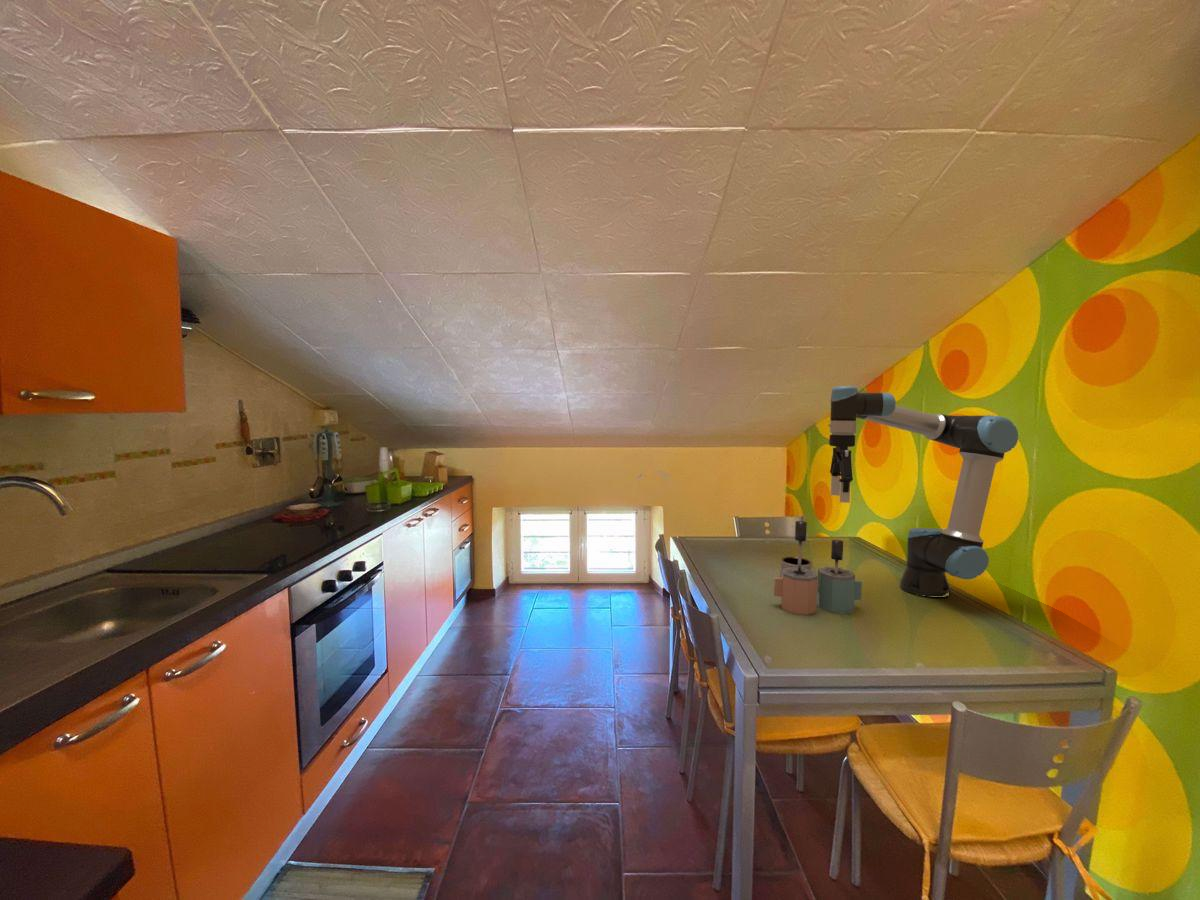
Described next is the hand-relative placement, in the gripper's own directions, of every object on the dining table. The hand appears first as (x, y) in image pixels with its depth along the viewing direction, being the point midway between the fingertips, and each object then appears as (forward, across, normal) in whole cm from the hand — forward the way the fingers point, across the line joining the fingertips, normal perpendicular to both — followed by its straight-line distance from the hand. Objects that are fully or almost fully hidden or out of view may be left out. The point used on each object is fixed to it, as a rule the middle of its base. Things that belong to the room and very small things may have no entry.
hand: (839, 498), depth 156 cm
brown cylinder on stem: (+27, +4, -12) cm, 30 cm away
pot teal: (+37, 0, +1) cm, 37 cm away
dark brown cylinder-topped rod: (+34, 0, 0) cm, 34 cm away
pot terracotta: (+37, +4, -13) cm, 39 cm away
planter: (+37, -18, -10) cm, 42 cm away
